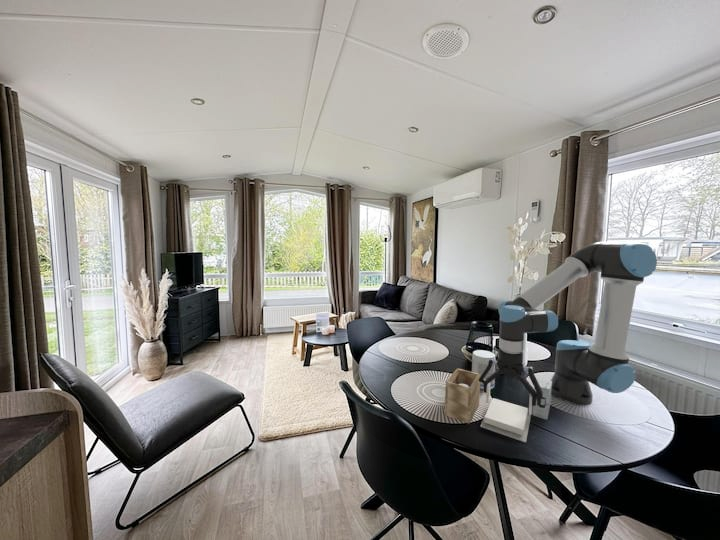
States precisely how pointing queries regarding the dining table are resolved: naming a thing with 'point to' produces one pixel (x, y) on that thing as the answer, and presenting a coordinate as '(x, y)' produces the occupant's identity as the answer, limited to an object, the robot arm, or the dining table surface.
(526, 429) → the mat
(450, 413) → the box
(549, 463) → the dining table surface
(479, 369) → the supplement tub
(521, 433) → the lid
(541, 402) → the ink box
